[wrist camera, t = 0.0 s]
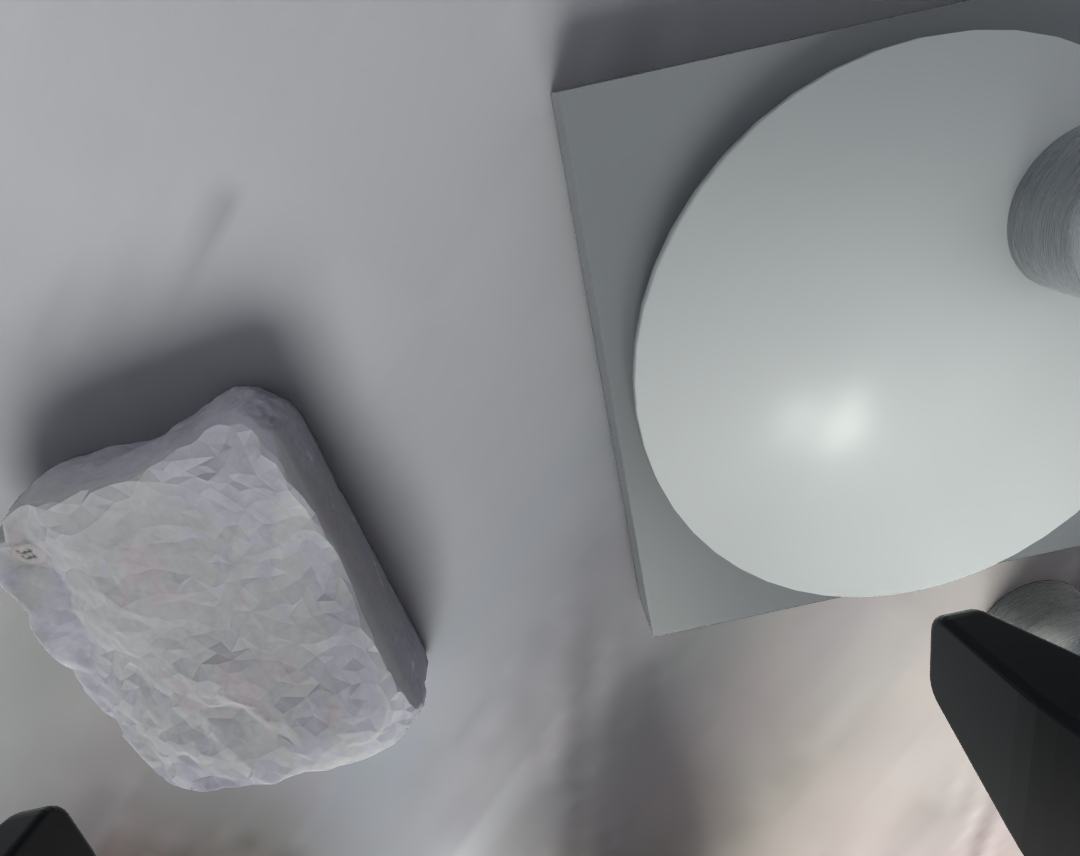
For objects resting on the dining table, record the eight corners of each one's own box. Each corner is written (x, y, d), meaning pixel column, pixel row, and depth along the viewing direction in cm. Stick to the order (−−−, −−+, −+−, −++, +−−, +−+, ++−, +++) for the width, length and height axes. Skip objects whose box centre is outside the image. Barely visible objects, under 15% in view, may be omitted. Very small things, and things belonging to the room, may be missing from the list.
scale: (1119, 495, 25) (1198, 543, 22) (640, 598, 25) (660, 659, 22) (1201, -52, 18) (1327, -78, 16) (550, 93, 19) (563, 91, 16)
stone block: (224, 707, 28) (461, 662, 26) (148, 822, 24) (425, 782, 21) (41, 439, 24) (306, 353, 21) (-92, 521, 19) (221, 425, 17)
